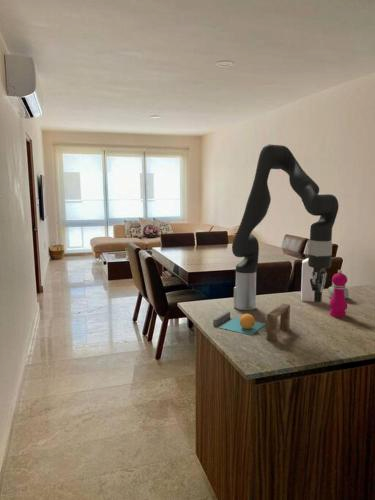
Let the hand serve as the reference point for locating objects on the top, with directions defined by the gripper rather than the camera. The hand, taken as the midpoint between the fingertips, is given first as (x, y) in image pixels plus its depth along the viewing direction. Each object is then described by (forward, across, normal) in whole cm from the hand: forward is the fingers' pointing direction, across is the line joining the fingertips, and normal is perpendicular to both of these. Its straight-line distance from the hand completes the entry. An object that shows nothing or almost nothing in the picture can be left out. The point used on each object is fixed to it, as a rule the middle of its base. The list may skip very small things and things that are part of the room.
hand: (317, 301), depth 131 cm
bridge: (+15, 0, -14) cm, 21 cm away
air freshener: (+15, -60, -6) cm, 62 cm away
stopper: (+15, 0, -38) cm, 41 cm away
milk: (+15, -50, -18) cm, 55 cm away
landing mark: (+15, 0, -29) cm, 33 cm away
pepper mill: (+15, -34, 0) cm, 37 cm away
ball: (+12, +2, -26) cm, 29 cm away
